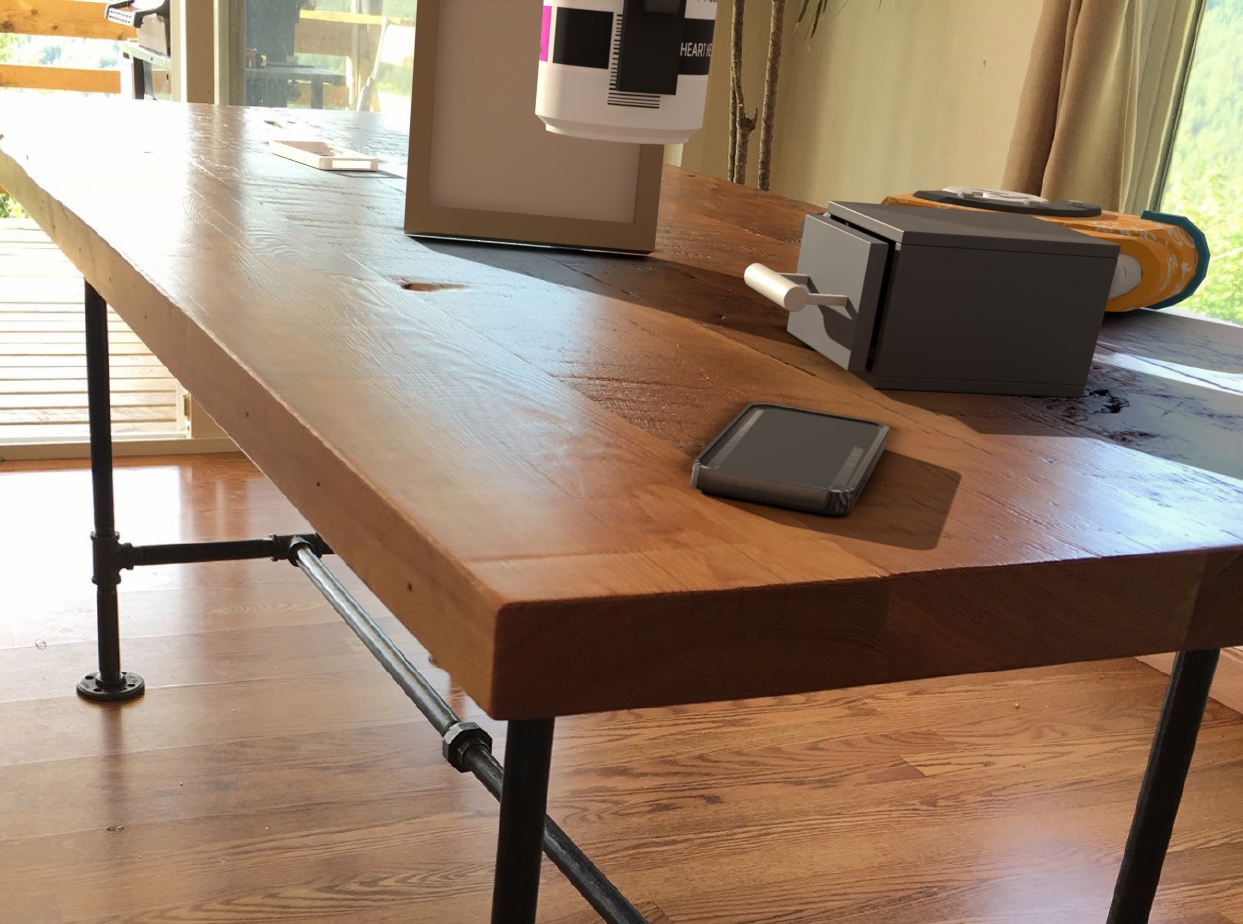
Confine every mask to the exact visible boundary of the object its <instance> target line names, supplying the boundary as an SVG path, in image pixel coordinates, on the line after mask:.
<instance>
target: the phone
mask: <svg viewBox="0 0 1243 924" xmlns="http://www.w3.org/2000/svg"><path fill="white" fill-rule="evenodd" d="M889 431H890V426H889V425H887V424H885V423H883V422H880V421H877V420H872V419H866V418H861V417H854V416H848V415H842V414H836V413H830V412H824V411H819V410H813V409H807V408H802V407H795V406H789V405H783V404H777V403H772V402H771V403H770V402H760V401H759V402H750V403H749V404H747V405H746V406H745V407H744V408H743V409H742V410H741V411H740V412H739V413H738V414H737V415H736V416H735V417H734V418H733V419H732V420H731V421H730V422H729V423H728V424H727V425H726V427H724V429H723V430H722V431H721V432H720V433H719V434H718V435H716V437H714V439H713V440H712V441H711V442H710V443H709V444H708V445H707V446H706V447H705V448H704V449H703V450H702V451H701V452H700V453H699V454H698V455H697V456H696V457H695V458H694V459H693V462H692V467H691V468H692V470H691V477H690V483H689V484H690V486H691V487H692V488H694V489H696V490H699V491H701V492H706V493H711V494H716V495H722V496H728V497H732V498H737V499H743V500H748V501H754V502H759V503H765V504H769V505H770V504H771V505H776V506H781V507H786V508H792V509H796V510H803V511H808V512H813V513H818V514H824V515H830V516H831V515H833V516H835V515H836V516H839V515H846V514H849V513H850V512H852V510H853V508H854V506H855V504H856V502H857V501H858V499H859V497H860V495H861V493H862V491H863V490H864V488H865V486H866V484H867V482H868V480H869V478H870V477H871V475H872V473H873V471H874V469H875V468H876V466H877V464H878V463H879V460H880V459H881V457H882V455H883V453H884V451H885V449H886V446H887V441H888V436H889Z"/></svg>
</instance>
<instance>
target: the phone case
mask: <svg viewBox="0 0 1243 924" xmlns="http://www.w3.org/2000/svg"><path fill="white" fill-rule="evenodd" d="M268 148H269V153H271V154H274V155H277V156H280V157H282V158H285V159H289V160H291V161H294V162H297V163H301V164H303V165H307V166H310V167H312V168H316V169H319V170H329V171H375V172H376V171H378V170H379V158H378V157H375V156H372V155H368V154H365V153H362V152H358V151H355V150H352V149H349V148H346V147H341V146H339V145H335V144H332V143H329V142H324V141H305V140H304V141H303V140H272V139H271V140H269V147H268ZM331 149H332V150H336V151H339V152H341V153H342V154H339V153H335V152H332V151H331ZM323 154H324V155H323Z"/></svg>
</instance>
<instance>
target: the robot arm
mask: <svg viewBox="0 0 1243 924" xmlns="http://www.w3.org/2000/svg"><path fill="white" fill-rule="evenodd" d="M686 3H687V0H624V5H623V15H622V25H621V35H620V45H619V55H618V65H617V76H616V86H615V90H616V91H620V92H634V93H648V94H661V95H675V96H676V90H677V81H678V73H679V64H680V55H681V46H682V38H683V29H684V20H685V12H686Z"/></svg>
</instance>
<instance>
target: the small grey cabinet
mask: <svg viewBox="0 0 1243 924" xmlns="http://www.w3.org/2000/svg"><path fill="white" fill-rule="evenodd" d="M826 212H828V213H827V216H826V217H827V218H830V219H832V220H834V221H837V222H839V223H841V224H844V221H848V222H851V223H853V224H855V225H858V226H860V227H863V228H865V229H867V230H870V231H872V232H874V233H877V234H879V235H881V236H884V237H886V238H888V239H891V240H893V241H895V242H898V243H896V247H895V252H894V258H893V263H892V268H891V273H890V278H889V283H888V289H887V294H886V299H885V304H884V309H883V315H882V320H881V325H880V330H879V335H878V341H877V346H876V351H875V356H874V360H872V359H870V358H869V357H867V363H866V368H865V371H864V372H860V371H847V370H846V369H844V368H843V367H841V366H840V365H838V364H836V363H835V362H833V361H832V360H830V359H829V358H827V357H826V356H824V355H823V354H821V353H820V352H818V351H817V350H815V349H814V348H812V347H811V346H809V345H808V344H806V343H805V342H804V343H805V345H807V346H808V347H810V348H812V349H813V350H815V351H816V352H818V353H819V354H821V355H822V356H824V357H825V358H827V359H828V360H830V361H831V362H833V363H834V364H836V365H837V366H839V367H840V368H842V369H844V370H845V371H846V372H848V373H849V374H851V375H852V376H854V377H855V378H857V379H858V380H860V381H862V383H865V384H866V385H868V386H869V387H871V388H872V389H874V388H880V389H879V390H894V389H902V390H901V391H920V392H939V393H940V392H941V393H965V394H985V395H988V394H989V395H1009V396H1010V395H1011V396H1032V397H1033V396H1034V397H1052V398H1054V397H1055V398H1074V399H1075V398H1077V399H1082V398H1083V397H1084V394H1085V389H1086V385H1087V382H1088V378H1089V374H1090V371H1091V366H1092V363H1093V359H1094V355H1095V351H1096V347H1097V344H1098V341H1099V335H1100V332H1101V327H1102V323H1103V321H1104V316H1105V312H1106V311H1105V309H1106V305H1107V301H1108V297H1109V293H1110V289H1111V285H1112V281H1113V277H1114V274H1115V270H1116V266H1117V262H1118V259H1117V258H1118V257H1119V253H1120V249H1121V245H1118V244H1115V243H1112V242H1109V241H1106V240H1103V239H1100V238H1097V237H1094V236H1091V235H1087V234H1084V233H1081V232H1078V231H1075V230H1072V229H1069V228H1066V227H1063V226H1060V225H1057V224H1054V223H1051V222H1048V221H1045V220H1042V219H1038V218H1035V217H1032V216H1029V215H1026V214H1015V213H1001V212H987V211H972V210H958V209H944V208H930V207H915V206H901V205H887V204H881V203H870V202H858V201H844V200H828V205H827V210H826Z"/></svg>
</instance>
